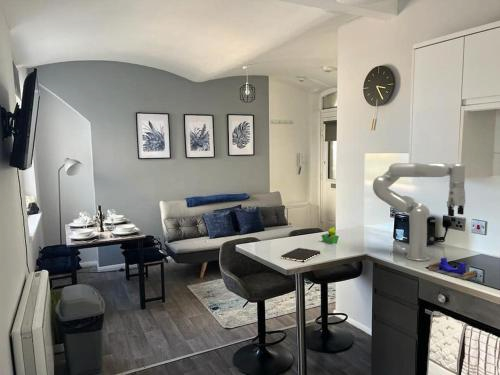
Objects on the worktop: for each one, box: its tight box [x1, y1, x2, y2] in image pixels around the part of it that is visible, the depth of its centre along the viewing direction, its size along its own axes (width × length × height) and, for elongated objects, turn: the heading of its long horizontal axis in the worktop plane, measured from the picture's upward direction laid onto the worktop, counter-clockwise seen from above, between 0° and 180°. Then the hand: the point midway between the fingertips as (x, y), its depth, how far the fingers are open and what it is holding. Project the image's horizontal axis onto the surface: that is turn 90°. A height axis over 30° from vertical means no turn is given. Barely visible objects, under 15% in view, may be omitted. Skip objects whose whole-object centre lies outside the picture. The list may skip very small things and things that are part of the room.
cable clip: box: [439, 257, 467, 275], centre depth 203 cm, size 12×4×6 cm, turn 32°
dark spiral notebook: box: [280, 247, 321, 261], centre depth 240 cm, size 16×23×2 cm
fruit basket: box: [321, 226, 340, 245], centre depth 273 cm, size 11×9×11 cm
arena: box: [427, 261, 478, 281], centre depth 203 cm, size 20×11×3 cm, turn 32°
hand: (455, 215), depth 217 cm, fingers open, 9 cm apart
